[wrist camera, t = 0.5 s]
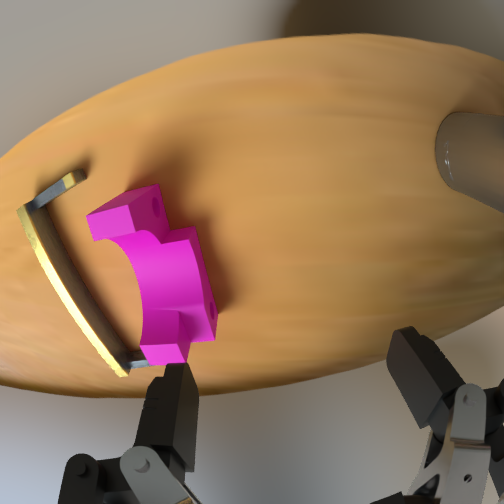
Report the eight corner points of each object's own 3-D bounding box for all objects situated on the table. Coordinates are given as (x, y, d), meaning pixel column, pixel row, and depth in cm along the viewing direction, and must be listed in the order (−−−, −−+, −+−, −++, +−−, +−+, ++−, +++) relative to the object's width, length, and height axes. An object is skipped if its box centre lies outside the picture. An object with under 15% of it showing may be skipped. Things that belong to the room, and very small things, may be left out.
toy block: (218, 312, 30) (212, 362, 23) (166, 318, 30) (150, 365, 24) (184, 177, 24) (160, 197, 17) (124, 192, 24) (85, 215, 17)
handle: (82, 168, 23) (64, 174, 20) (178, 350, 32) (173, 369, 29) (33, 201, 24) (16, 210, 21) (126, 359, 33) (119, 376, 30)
